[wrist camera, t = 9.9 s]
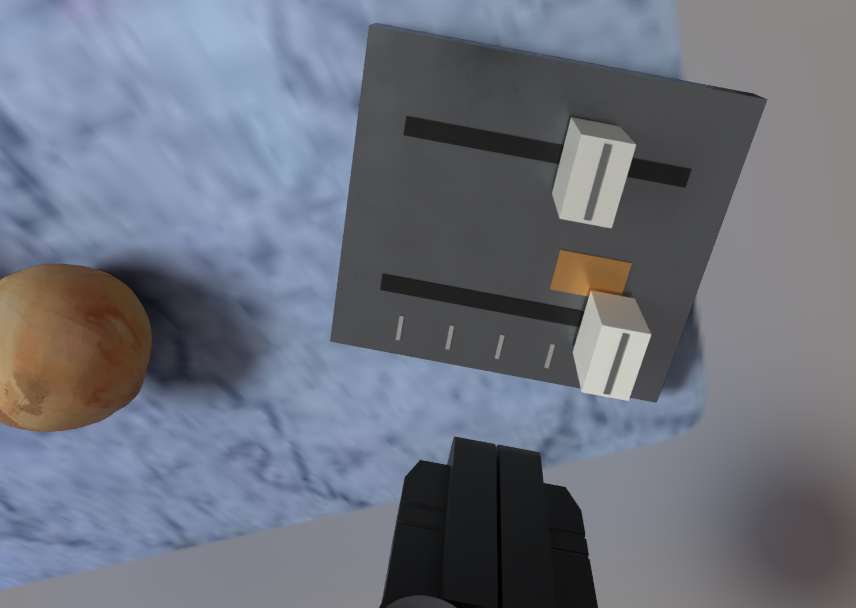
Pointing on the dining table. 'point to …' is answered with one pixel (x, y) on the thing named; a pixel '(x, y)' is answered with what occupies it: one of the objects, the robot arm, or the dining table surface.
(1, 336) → the onion
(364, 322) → the console
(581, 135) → the fader
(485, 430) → the dining table surface
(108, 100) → the dining table surface
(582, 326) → the fader
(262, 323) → the dining table surface
